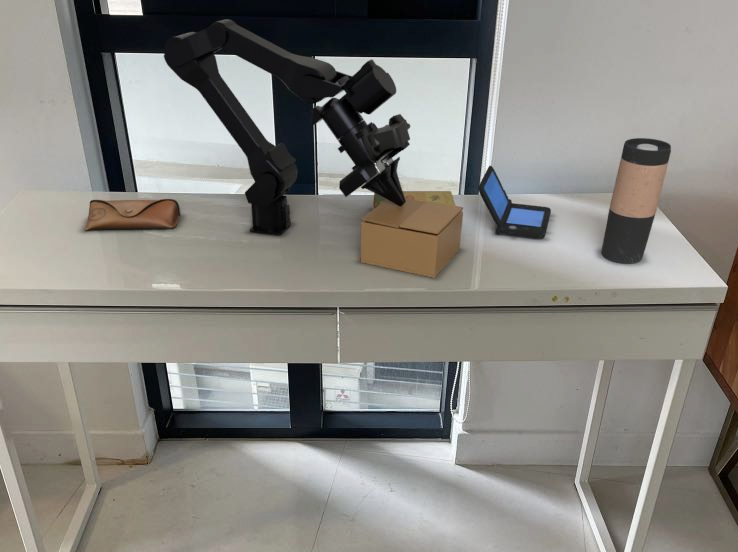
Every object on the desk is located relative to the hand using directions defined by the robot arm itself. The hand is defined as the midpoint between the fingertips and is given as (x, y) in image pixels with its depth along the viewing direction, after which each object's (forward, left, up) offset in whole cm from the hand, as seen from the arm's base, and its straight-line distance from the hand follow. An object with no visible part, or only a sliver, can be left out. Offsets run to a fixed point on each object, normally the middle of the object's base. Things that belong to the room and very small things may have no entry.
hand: (403, 204), depth 129 cm
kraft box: (+2, -3, -8) cm, 9 cm away
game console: (+19, +18, -9) cm, 28 cm away
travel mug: (+39, +7, -9) cm, 41 cm away
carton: (-1, +16, -9) cm, 18 cm away
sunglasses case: (-54, -2, -9) cm, 55 cm away
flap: (-1, -2, -1) cm, 3 cm away
